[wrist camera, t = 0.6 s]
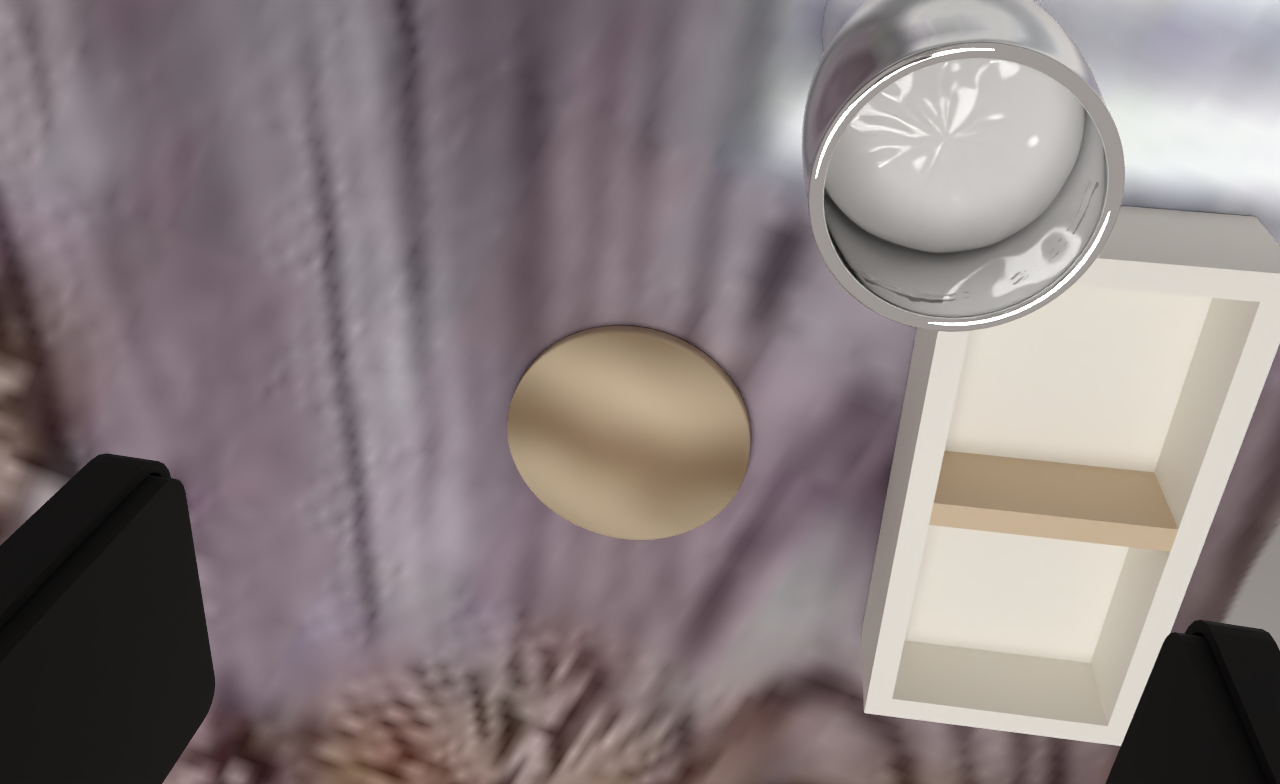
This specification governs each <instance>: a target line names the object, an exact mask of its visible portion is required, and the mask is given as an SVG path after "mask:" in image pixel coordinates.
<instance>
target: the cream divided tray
mask: <svg viewBox="0 0 1280 784" xmlns="http://www.w3.org/2000/svg"><path fill="white" fill-rule="evenodd" d="M1279 344H1280V245H1279V244H1278V243H1277V242H1276V240H1275V239H1274V238H1273V237H1272V236H1271V234H1270V233H1269V232H1268V231H1267V230H1266V228H1265V227H1264V226H1263V225H1262V224H1261V222H1260V221H1259V220H1258V219H1257V218H1256V217H1254V216H1242V215H1229V214H1217V213H1205V212H1192V211H1180V210H1167V209H1155V208H1142V207H1130V206H1121V208H1120V211H1119V215H1118V218H1117V221H1116V223H1115V226H1114V228H1113V231H1112V233H1111V235H1110V237H1109V239H1108V241H1107V243H1106V244H1105V246H1104V248H1103V249H1102V251H1101V253H1100V254H1099V256H1098V257H1097V259H1096V260H1095V261H1094V263H1093V264H1092V265H1091V266H1090V268H1089V269H1088V270H1087V271H1086V272H1085V273H1084V274H1083V275H1082V277H1081V278H1080V279H1079V280H1078V281H1077V282H1076V283H1074V284H1073V285H1072V286H1071V287H1070V288H1069V289H1068V290H1066V291H1065V292H1064V293H1063V294H1061V295H1060V296H1059V297H1057V298H1056V299H1054V300H1053V301H1052V302H1050V303H1048V304H1047V305H1045V306H1044V307H1042V308H1040V309H1038V310H1036V311H1035V312H1033V313H1031V314H1028V315H1026V316H1024V317H1022V318H1019V319H1017V320H1014V321H1011V322H1008V323H1005V324H1002V325H999V326H995V327H990V328H985V329H980V330H972V331H961V332H945V331H932V330H925V329H920V328H917V331H916V336H915V342H914V347H913V352H912V358H911V363H910V369H909V374H908V380H907V385H906V391H905V396H904V402H903V407H902V413H901V418H900V424H899V429H898V435H897V440H896V446H895V451H894V457H893V462H892V468H891V473H890V479H889V484H888V490H887V495H886V501H885V506H884V512H883V517H882V523H881V528H880V534H879V539H878V545H877V550H876V555H875V561H874V566H873V572H872V577H871V583H870V588H869V594H868V599H867V605H866V610H865V616H864V621H863V627H862V632H861V639H862V667H863V695H864V713H869V714H877V715H884V716H892V717H900V718H908V719H915V720H923V721H931V722H939V723H947V724H954V725H962V726H970V727H978V728H985V729H993V730H1001V731H1009V732H1016V733H1024V734H1032V735H1040V736H1047V737H1055V738H1063V739H1071V740H1079V741H1086V742H1094V743H1102V744H1110V745H1117V746H1121V745H1122V742H1123V740H1124V737H1125V735H1126V733H1127V730H1128V728H1129V725H1130V723H1131V720H1132V718H1133V715H1134V713H1135V710H1136V708H1137V706H1138V703H1139V701H1140V698H1141V696H1142V693H1143V691H1144V688H1145V686H1146V684H1147V681H1148V679H1149V676H1150V674H1151V671H1152V669H1153V666H1154V664H1155V661H1156V659H1157V657H1158V654H1159V652H1160V649H1161V647H1162V644H1163V642H1164V641H1165V639H1166V637H1167V636H1168V635H1169V634H1170V632H1171V629H1172V627H1173V624H1174V621H1175V619H1176V616H1177V613H1178V611H1179V608H1180V605H1181V603H1182V600H1183V597H1184V595H1185V592H1186V590H1187V587H1188V584H1189V582H1190V579H1191V576H1192V574H1193V571H1194V568H1195V566H1196V563H1197V560H1198V558H1199V555H1200V553H1201V550H1202V547H1203V545H1204V542H1205V539H1206V537H1207V534H1208V531H1209V529H1210V526H1211V523H1212V521H1213V518H1214V515H1215V513H1216V510H1217V508H1218V505H1219V502H1220V500H1221V497H1222V494H1223V492H1224V489H1225V486H1226V484H1227V481H1228V478H1229V476H1230V473H1231V471H1232V468H1233V465H1234V463H1235V460H1236V457H1237V455H1238V452H1239V449H1240V447H1241V444H1242V441H1243V439H1244V436H1245V433H1246V431H1247V428H1248V426H1249V423H1250V420H1251V418H1252V415H1253V412H1254V410H1255V407H1256V404H1257V402H1258V399H1259V396H1260V394H1261V391H1262V388H1263V386H1264V383H1265V381H1266V378H1267V375H1268V373H1269V370H1270V367H1271V365H1272V362H1273V359H1274V357H1275V354H1276V351H1277V349H1278V346H1279Z"/></svg>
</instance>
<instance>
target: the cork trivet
mask: <svg viewBox="0 0 1280 784" xmlns="http://www.w3.org/2000/svg"><path fill="white" fill-rule="evenodd" d="M507 433H508V442H509V446H510V450H511V454H512V457H513V460H514V462H515V464H516V467H517V469H518V471H519V473H520V474H521V476H522V478H523V479H524V481H525V482H526V484H527V485H528V486H529V488H530V489H531V490H532V492H533V493H534V494H535V495H536V496H537V497H538V498H539V499H540V500H541V501H542V502H543V503H544V504H545V505H547V506H548V507H549V508H550V509H552V510H553V511H554V512H555V513H557V514H558V515H560V516H562V517H563V518H565V519H566V520H568V521H570V522H572V523H574V524H576V525H578V526H580V527H582V528H584V529H587V530H590V531H592V532H595V533H599V534H602V535H606V536H610V537H616V538H622V539H633V540H648V539H659V538H666V537H671V536H674V535H678V534H682V533H685V532H687V531H690V530H692V529H695V528H697V527H698V526H700V525H702V524H704V523H706V522H707V521H709V520H710V519H712V518H713V517H714V516H716V515H717V514H718V513H720V512H721V511H722V510H723V509H724V508H725V507H726V506H727V505H728V504H729V502H730V501H731V500H732V498H733V497H734V496H735V494H736V493H737V491H738V489H739V488H740V486H741V484H742V482H743V479H744V477H745V474H746V471H747V467H748V462H749V456H750V446H751V429H750V422H749V416H748V413H747V410H746V406H745V403H744V401H743V399H742V397H741V395H740V393H739V391H738V389H737V388H736V386H735V385H734V383H733V381H732V380H731V378H730V377H729V376H728V375H727V374H726V373H725V371H724V370H723V369H722V368H721V367H720V366H719V365H718V364H717V363H716V362H715V361H714V360H712V359H711V358H710V357H709V356H708V355H706V354H705V353H704V352H702V351H701V350H699V349H698V348H696V347H695V346H693V345H691V344H689V343H687V342H686V341H684V340H682V339H680V338H677V337H675V336H672V335H670V334H667V333H664V332H661V331H657V330H653V329H649V328H643V327H636V326H619V325H615V326H603V327H597V328H592V329H587V330H583V331H580V332H578V333H575V334H572V335H569V336H567V337H565V338H563V339H561V340H559V341H557V342H556V343H554V344H553V345H551V346H550V347H548V348H547V349H546V350H544V351H543V352H542V353H541V354H540V355H539V356H538V357H537V358H536V359H535V360H534V361H533V362H532V363H531V365H530V366H529V367H528V369H527V370H526V371H525V373H524V375H523V377H522V378H521V380H520V382H519V384H518V386H517V389H516V391H515V393H514V396H513V399H512V401H511V404H510V409H509V414H508V424H507Z"/></svg>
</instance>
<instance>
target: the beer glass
mask: <svg viewBox="0 0 1280 784" xmlns="http://www.w3.org/2000/svg"><path fill="white" fill-rule="evenodd" d="M822 45H823V51H824V54H823V56H822V58H821V60H820V62H819V64H818V66H817V68H816V70H815V73H814V75H813V78H812V81H811V84H810V87H809V91H808V95H807V100H806V107H805V113H804V119H803V127H802V160H803V172H804V179H805V186H806V192H807V197H808V210H809V218H810V224H811V229H812V233H813V236H814V239H815V242H816V245H817V248H818V250H819V252H820V254H821V256H822V258H823V260H824V262H825V264H826V266H827V267H828V269H829V270H830V272H831V273H832V274H833V276H834V277H835V278H836V280H837V281H838V282H839V283H840V284H841V286H842V287H843V288H844V289H845V290H846V291H847V292H848V293H849V294H851V295H852V296H853V297H854V298H855V299H856V300H858V301H859V302H860V303H862V304H863V305H864V306H866V307H867V308H869V309H871V310H872V311H874V312H876V313H878V314H879V315H881V316H884V317H886V318H888V319H890V320H893V321H895V322H898V323H901V324H904V325H907V326H911V327H915V328H920V329H925V330H932V331H945V332H961V331H972V330H980V329H985V328H990V327H995V326H999V325H1002V324H1005V323H1008V322H1011V321H1014V320H1017V319H1019V318H1022V317H1024V316H1026V315H1028V314H1031V313H1033V312H1035V311H1036V310H1038V309H1040V308H1042V307H1044V306H1045V305H1047V304H1048V303H1050V302H1052V301H1053V300H1054V299H1056V298H1057V297H1059V296H1060V295H1061V294H1063V293H1064V292H1065V291H1066V290H1068V289H1069V288H1070V287H1071V286H1072V285H1073V284H1074V283H1076V282H1077V281H1078V280H1079V279H1080V278H1081V277H1082V275H1083V274H1084V273H1085V272H1086V271H1087V270H1088V269H1089V268H1090V266H1091V265H1092V264H1093V263H1094V261H1095V260H1096V259H1097V257H1098V256H1099V254H1100V253H1101V251H1102V249H1103V248H1104V246H1105V244H1106V243H1107V241H1108V239H1109V237H1110V235H1111V233H1112V231H1113V228H1114V226H1115V223H1116V221H1117V218H1118V215H1119V211H1120V208H1121V203H1122V199H1123V192H1124V183H1125V165H1124V154H1123V149H1122V144H1121V140H1120V137H1119V133H1118V131H1117V128H1116V125H1115V123H1114V121H1113V118H1112V116H1111V114H1110V113H1109V111H1108V109H1107V107H1106V105H1105V102H1104V100H1103V97H1102V95H1101V92H1100V90H1099V87H1098V85H1097V82H1096V80H1095V78H1094V76H1093V73H1092V71H1091V70H1090V68H1089V66H1088V64H1087V63H1086V61H1085V59H1084V57H1083V56H1082V54H1081V52H1080V51H1079V49H1078V47H1077V46H1076V44H1075V43H1074V41H1073V40H1072V39H1071V37H1070V36H1069V35H1068V34H1067V33H1066V31H1065V30H1064V29H1063V28H1062V27H1061V26H1060V25H1059V24H1058V23H1057V22H1056V20H1055V19H1054V18H1053V17H1052V16H1051V15H1050V14H1049V13H1048V12H1047V11H1046V10H1045V9H1043V8H1042V7H1041V6H1040V5H1039V4H1037V3H1036V2H1035V1H1033V0H828V1H827V4H826V8H825V11H824V16H823V23H822Z"/></svg>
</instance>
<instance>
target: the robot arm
mask: <svg viewBox="0 0 1280 784" xmlns="http://www.w3.org/2000/svg"><path fill="white" fill-rule="evenodd" d="M214 690H215V676H214V670H213V664H212V657H211V651H210V645H209V638H208V632H207V626H206V619H205V613H204V607H203V600H202V594H201V588H200V581H199V575H198V569H197V562H196V556H195V550H194V543H193V537H192V531H191V524H190V518H189V512H188V505H187V499H186V493H185V489H184V486H183V484H182V483H181V482H180V481H179V480H177V479H172V478H171V476H170V473H169V470H168V469H167V467H166V466H165V465H164V464H163V463H161V462H158V461H153V460H146V459H140V458H133V457H126V456H120V455H113V454H101V455H98V456H96V457H95V458H93V459H92V460H91V461H90V462H88V463H87V464H86V465H85V466H84V467H83V468H82V469H81V470H80V471H79V472H78V473H77V474H76V475H75V476H74V477H73V478H72V479H70V480H69V481H68V482H67V483H66V484H65V485H64V486H63V487H62V488H61V489H60V490H59V491H58V492H57V493H56V494H55V495H54V496H52V497H51V498H50V499H49V500H48V501H47V502H46V503H45V504H44V505H43V506H42V507H41V508H40V509H39V510H38V511H37V512H35V513H34V514H33V515H32V516H31V517H30V518H29V519H28V520H27V521H26V522H25V523H24V524H23V525H22V526H21V527H20V528H19V529H17V530H16V531H15V532H14V533H13V534H12V535H11V536H10V537H9V538H8V539H7V540H6V541H5V542H4V543H3V544H2V545H1V546H0V784H162V783H163V781H164V780H165V778H166V777H167V775H168V774H169V772H170V771H171V769H172V768H173V766H174V765H175V763H176V762H177V760H178V759H179V757H180V755H181V754H182V752H183V751H184V749H185V748H186V746H187V745H188V743H189V742H190V740H191V739H192V737H193V736H194V734H195V733H196V731H197V730H198V728H199V727H200V725H201V723H202V722H203V720H204V719H205V717H206V715H207V713H208V711H209V709H210V706H211V704H212V700H213V696H214ZM1106 784H1280V650H1279V648H1278V646H1277V644H1276V642H1275V641H1274V639H1273V638H1272V636H1271V635H1270V633H1268V632H1266V631H1264V630H1263V629H1257V628H1250V627H1244V626H1237V625H1231V624H1224V623H1217V622H1211V621H1204V620H1198V621H1194V622H1193V623H1192V624H1191V625H1190V626H1189V627H1188V629H1187V630H1186V632H1185V634H1182V633H1176V632H1174V633H1170V634H1169V635H1168V636H1167V637H1166V639H1165V641H1164V642H1163V644H1162V647H1161V649H1160V652H1159V654H1158V657H1157V659H1156V661H1155V664H1154V666H1153V669H1152V671H1151V674H1150V676H1149V679H1148V681H1147V684H1146V686H1145V688H1144V691H1143V693H1142V696H1141V698H1140V701H1139V703H1138V706H1137V708H1136V710H1135V713H1134V715H1133V718H1132V720H1131V723H1130V725H1129V728H1128V730H1127V733H1126V735H1125V737H1124V740H1123V742H1122V745H1121V747H1120V750H1119V752H1118V755H1117V757H1116V760H1115V762H1114V764H1113V767H1112V769H1111V772H1110V774H1109V777H1108V779H1107V782H1106Z"/></svg>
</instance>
